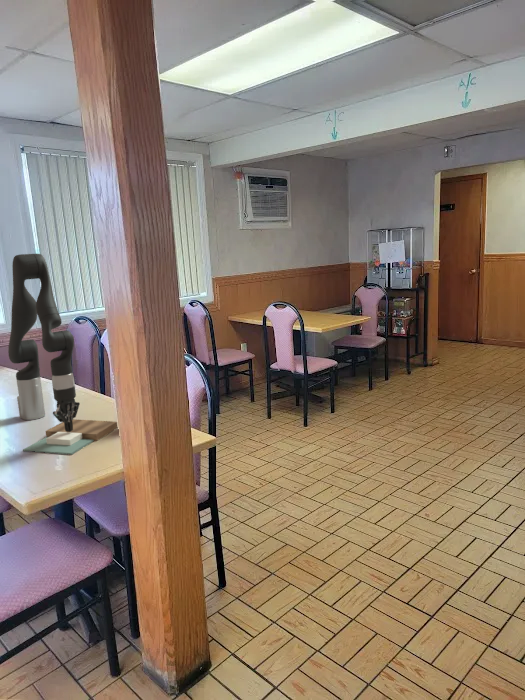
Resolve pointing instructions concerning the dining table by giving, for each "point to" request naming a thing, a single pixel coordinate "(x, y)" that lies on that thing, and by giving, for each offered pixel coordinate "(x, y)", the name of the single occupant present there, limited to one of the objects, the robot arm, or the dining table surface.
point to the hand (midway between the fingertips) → (69, 431)
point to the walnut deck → (86, 428)
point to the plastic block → (64, 438)
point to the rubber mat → (58, 447)
